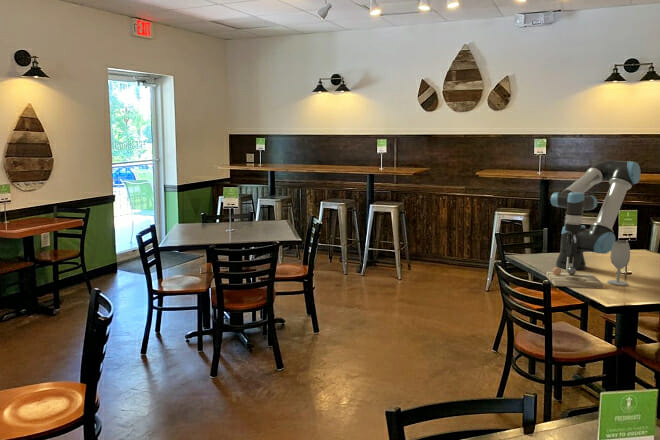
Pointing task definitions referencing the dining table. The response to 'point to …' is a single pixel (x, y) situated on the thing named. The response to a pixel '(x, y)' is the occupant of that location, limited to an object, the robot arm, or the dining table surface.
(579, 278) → the board
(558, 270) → the terracotta ball
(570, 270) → the steel ball
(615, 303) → the dining table surface
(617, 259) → the wineglass
